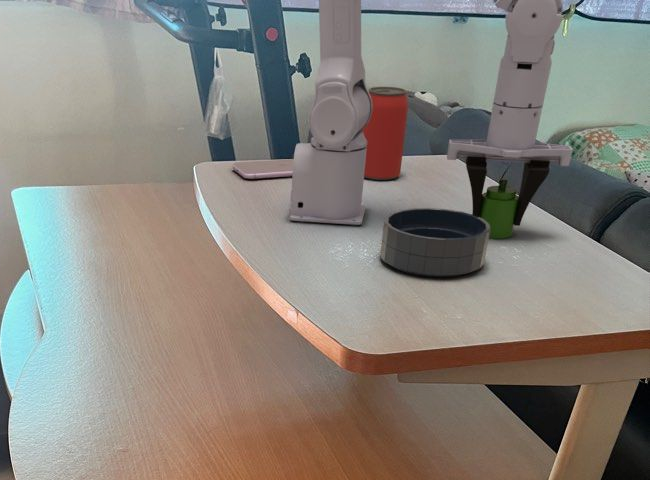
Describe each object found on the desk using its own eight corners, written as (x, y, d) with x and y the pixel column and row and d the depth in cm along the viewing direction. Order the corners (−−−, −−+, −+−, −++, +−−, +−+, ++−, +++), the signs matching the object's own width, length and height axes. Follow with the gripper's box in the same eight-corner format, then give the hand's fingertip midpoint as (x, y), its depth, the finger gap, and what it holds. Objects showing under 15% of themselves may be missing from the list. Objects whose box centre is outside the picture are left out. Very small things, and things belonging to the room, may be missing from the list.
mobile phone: (230, 161, 131) (318, 155, 135) (230, 168, 132) (317, 162, 135) (245, 173, 125) (336, 167, 129) (245, 180, 126) (336, 173, 130)
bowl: (377, 275, 94) (382, 235, 91) (382, 242, 103) (386, 205, 101) (485, 283, 92) (493, 242, 90) (480, 249, 102) (487, 211, 99)
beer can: (358, 169, 133) (365, 85, 125) (399, 171, 132) (409, 86, 125) (356, 180, 127) (364, 92, 120) (400, 182, 127) (410, 94, 119)
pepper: (476, 237, 106) (485, 182, 102) (474, 226, 109) (483, 173, 105) (513, 239, 105) (524, 185, 101) (510, 229, 109) (521, 175, 105)
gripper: (456, 107, 96) (438, 227, 104) (586, 113, 94) (557, 235, 102) (454, 96, 101) (437, 211, 110) (577, 102, 99) (550, 218, 108)
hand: (495, 222), depth 106 cm, fingers closed on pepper, 4 cm apart
